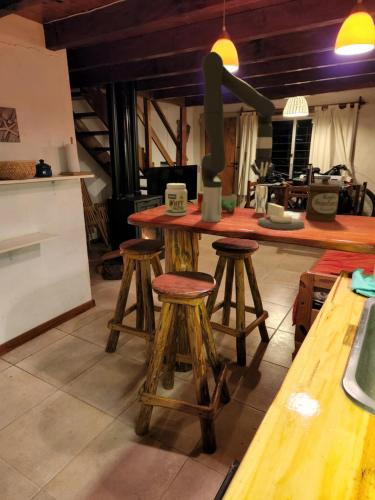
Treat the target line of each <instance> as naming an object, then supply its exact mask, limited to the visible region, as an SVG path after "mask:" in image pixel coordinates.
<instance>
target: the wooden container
mask: <svg viewBox="0 0 375 500" xmlns="http://www.w3.org/2000/svg"><path fill="white" fill-rule="evenodd" d="M329 180H330V178H329V177H328V176H323V177H322V178H321V181H319V182H315V183H314V182H313V183H309V187H308V195H307V203H306V211H305V219H306V220H310V221H313V222H314V221H315V222H326V223H328V222H334V221H335V220H336V215H337V209H338V203H339V195H340V186H341V185H340V184H338V183H330V182H329ZM327 221H328V222H327Z"/></svg>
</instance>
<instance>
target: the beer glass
mask: <svg viewBox="0 0 375 500" xmlns="http://www.w3.org/2000/svg"><path fill="white" fill-rule="evenodd" d="M254 198H255V199H254V200H255V201H254V202H255V209H254V213H255V214H266V203H267V200H268V186H267V185H256V186H255V192H254Z"/></svg>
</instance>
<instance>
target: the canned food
mask: <svg viewBox="0 0 375 500" xmlns="http://www.w3.org/2000/svg"><path fill="white" fill-rule="evenodd" d="M202 201H203V190H201V191H197V211H198V212H202Z"/></svg>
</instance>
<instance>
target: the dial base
mask: <svg viewBox="0 0 375 500" xmlns="http://www.w3.org/2000/svg"><path fill="white" fill-rule="evenodd" d="M270 218H271V216H264V217H259V218H258V219H257V225H258V226H261V227H263V228H267V229H271V230H273V229H274V230H282V231H284V230H285V231H288V230H291V231H294V230H300V229H303V228H304V227H305V222H304V221H303V220H301V219H297V218H293V217H292V221H291V222H290V223H277V222H272V221H270Z"/></svg>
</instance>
